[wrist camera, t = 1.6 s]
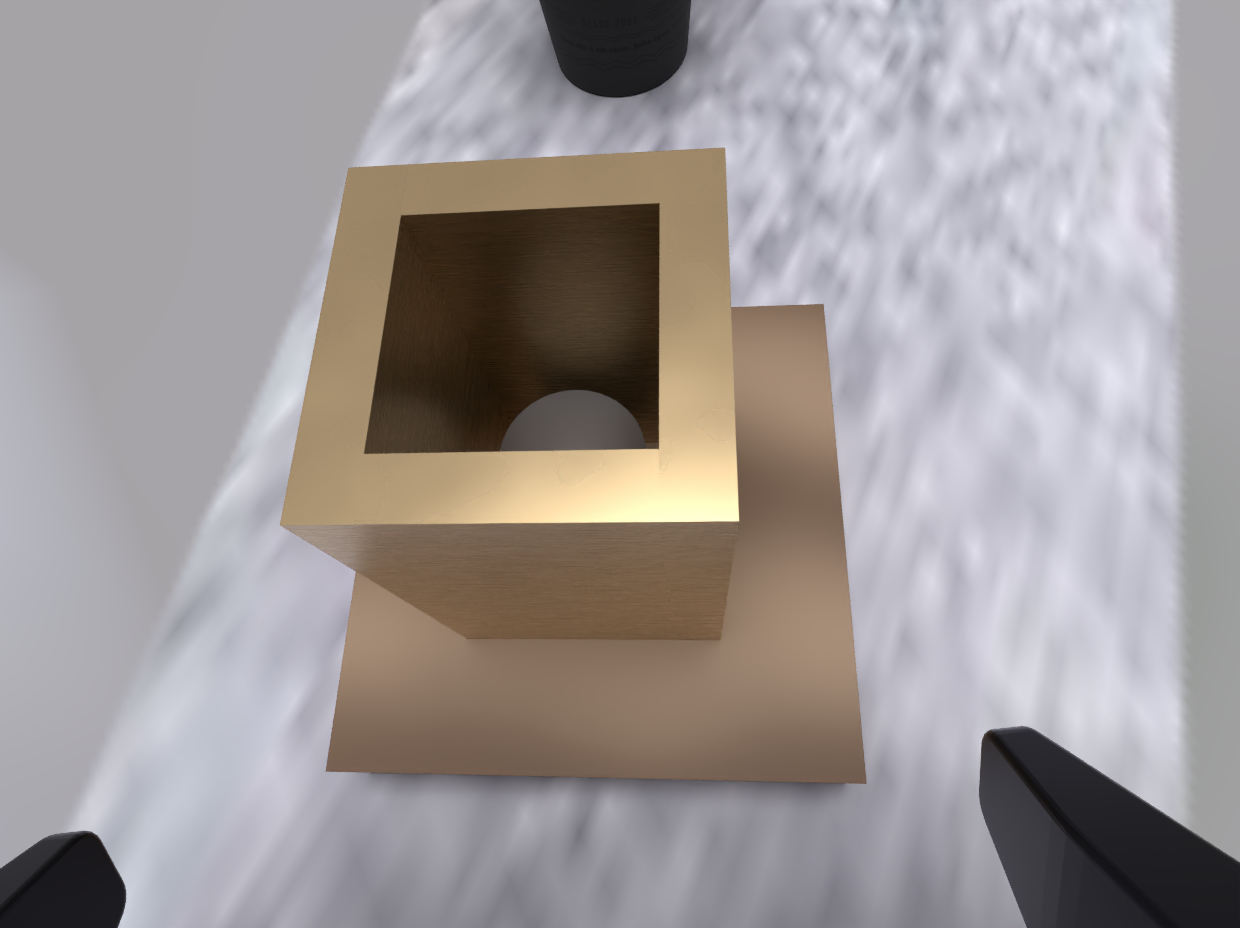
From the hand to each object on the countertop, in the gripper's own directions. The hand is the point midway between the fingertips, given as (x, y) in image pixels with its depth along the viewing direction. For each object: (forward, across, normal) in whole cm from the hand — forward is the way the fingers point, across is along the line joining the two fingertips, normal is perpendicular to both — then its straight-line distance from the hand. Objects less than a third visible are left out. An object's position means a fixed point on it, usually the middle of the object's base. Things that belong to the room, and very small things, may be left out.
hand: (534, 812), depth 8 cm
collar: (+12, 0, +2) cm, 12 cm away
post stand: (+13, 0, +4) cm, 14 cm away
